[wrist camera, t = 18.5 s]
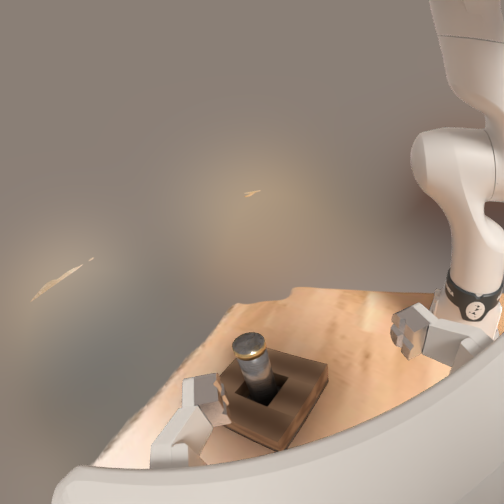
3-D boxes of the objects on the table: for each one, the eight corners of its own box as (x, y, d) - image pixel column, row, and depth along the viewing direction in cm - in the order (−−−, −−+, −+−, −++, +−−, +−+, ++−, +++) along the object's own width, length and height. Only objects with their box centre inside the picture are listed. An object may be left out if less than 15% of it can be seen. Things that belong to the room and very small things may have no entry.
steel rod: (262, 385, 45) (244, 329, 40) (284, 393, 43) (270, 336, 37) (248, 403, 42) (225, 349, 37) (270, 412, 39) (252, 358, 34)
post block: (255, 359, 53) (249, 342, 51) (328, 381, 44) (327, 364, 42) (205, 416, 42) (195, 401, 40) (282, 454, 32) (277, 442, 30)
